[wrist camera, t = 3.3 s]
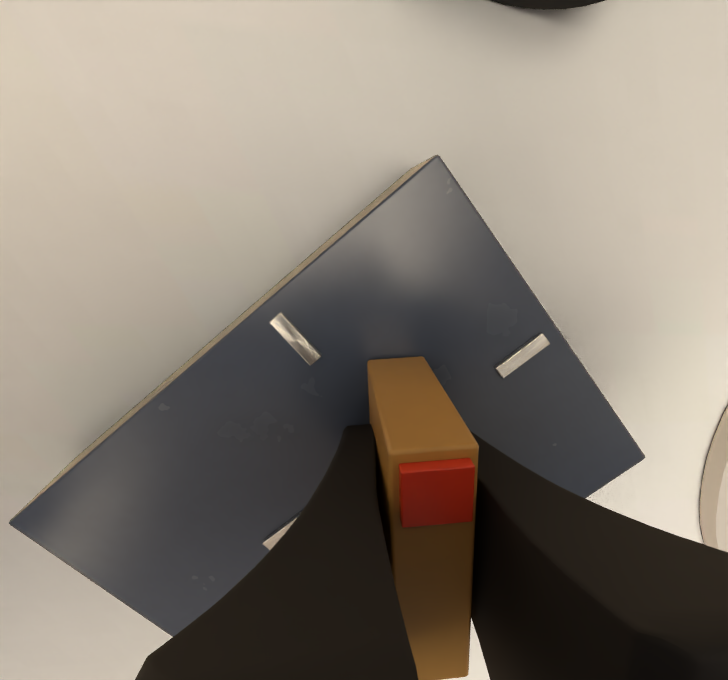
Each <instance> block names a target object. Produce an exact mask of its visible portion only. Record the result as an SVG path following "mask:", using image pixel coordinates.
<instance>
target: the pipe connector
mask: <svg viewBox="0 0 728 680" xmlns="http://www.w3.org/2000/svg"><path fill="white" fill-rule="evenodd" d="M492 1H496V2H499V3H502V4H505V5H511V6H516V7H521V8H530V9H543V10H547V9H567V8H574V7H581V6H587V5H590V4H594V3H598V2H601V1H605V0H492Z"/></svg>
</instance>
